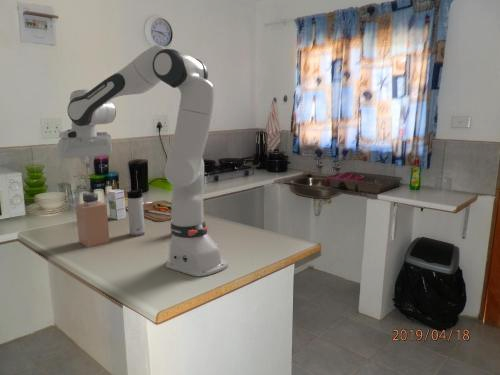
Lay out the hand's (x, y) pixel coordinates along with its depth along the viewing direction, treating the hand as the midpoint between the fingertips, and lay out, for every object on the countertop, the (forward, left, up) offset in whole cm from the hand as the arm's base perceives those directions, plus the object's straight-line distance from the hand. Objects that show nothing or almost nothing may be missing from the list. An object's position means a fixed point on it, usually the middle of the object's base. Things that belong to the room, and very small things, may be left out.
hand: (87, 167), depth 153 cm
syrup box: (+29, -24, -31) cm, 49 cm away
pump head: (+2, 0, -23) cm, 23 cm away
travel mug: (-3, -18, -31) cm, 36 cm away
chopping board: (+26, -47, -32) cm, 63 cm away
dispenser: (0, 0, -31) cm, 31 cm away
